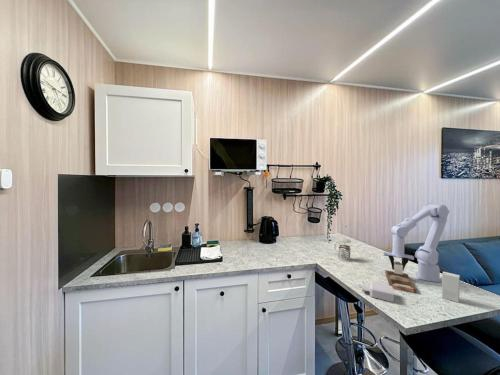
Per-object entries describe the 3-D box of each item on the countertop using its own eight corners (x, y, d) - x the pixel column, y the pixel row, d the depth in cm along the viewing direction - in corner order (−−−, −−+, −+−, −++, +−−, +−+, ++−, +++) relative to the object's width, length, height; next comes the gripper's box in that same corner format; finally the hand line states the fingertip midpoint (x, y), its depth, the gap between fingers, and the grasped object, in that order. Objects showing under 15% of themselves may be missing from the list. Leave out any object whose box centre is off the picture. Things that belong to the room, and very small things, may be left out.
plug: (400, 271, 125) (401, 261, 125) (402, 274, 121) (402, 264, 121) (392, 269, 127) (393, 260, 127) (394, 273, 123) (394, 263, 122)
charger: (358, 286, 113) (391, 294, 106) (357, 294, 105) (393, 303, 98) (358, 278, 113) (392, 285, 106) (357, 285, 105) (394, 293, 98)
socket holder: (407, 277, 126) (407, 273, 125) (416, 293, 107) (416, 289, 107) (385, 273, 130) (385, 270, 130) (390, 288, 112) (390, 284, 112)
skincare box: (459, 299, 101) (460, 274, 101) (458, 303, 98) (460, 277, 98) (442, 294, 106) (443, 270, 106) (441, 298, 103) (442, 273, 103)
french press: (353, 262, 147) (354, 226, 147) (335, 261, 150) (336, 225, 149) (349, 257, 157) (350, 224, 156) (333, 256, 159) (334, 223, 159)
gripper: (384, 246, 123) (383, 269, 123) (415, 250, 117) (414, 274, 117) (383, 243, 129) (382, 265, 130) (412, 247, 123) (411, 270, 123)
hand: (397, 269), depth 124 cm, fingers closed on plug, 4 cm apart
